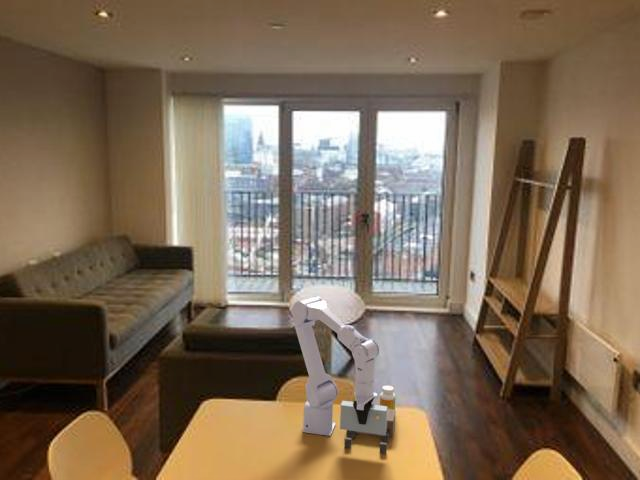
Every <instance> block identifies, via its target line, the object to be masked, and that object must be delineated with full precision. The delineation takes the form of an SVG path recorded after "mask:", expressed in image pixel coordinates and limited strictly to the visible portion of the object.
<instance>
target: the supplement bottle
mask: <svg viewBox="0 0 640 480" xmlns="http://www.w3.org/2000/svg"><path fill="white" fill-rule="evenodd" d="M381 391H382V392H380V394H379V406H387V409H395V410H396V394H395V392H394V391H395V390H394V387H393V386H392V385H383V386H382V389H381Z"/></svg>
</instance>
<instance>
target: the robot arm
mask: <svg viewBox="0 0 640 480" xmlns="http://www.w3.org/2000/svg"><path fill="white" fill-rule="evenodd" d="M290 312H291V316H292V319H293V322H294V328H295V332H296V336H297V339H298V343H299V346H300V349H301V353H302V357H303V360H304V364H305V367H306V370H307V373H308V379H307V382H306V384H304V387H305V393H306V394H305V399H306V400H307V401H305V404H304V406H303V418H302V419H303V421H302V423H303V426H302V428H303V429H302V432H303V433H308V434H315V435H321V436H328V437H331V436H332V433H333V432H334V429H335V426H336V422H333V418H334V415H333V414H334V413H333V412H334V409H333V408H334V403H335V399H337V398H338V395H339V388H338V386H337V385H336V382H335V381H334V379H333V376H332V375H330V374H328V373H326V370H325V367H324V364H323V363H324V362H323V361H322V360H323V359H322V357H321V354H320V350H319V349H320V348H319V346H318V343H317V340H316V337H315V333H314V330H313V326H314V324H315V322H316V321H320V322H322V323H323V324H324V325H325V326H327V327H328V328H330V329H331V330H332V331H334V332H335V333H336V334H337V340H338V341H340V343H342V344H343V345H344V346H345V347H346V348H347V349H348V350H350V352H351V355H352V358H353V360H354V365H355V374H354V375H355V377H354V379H355V380H354V381H355V383H354V393H353V396H354V398H355V400H353V401H352V402H353V407H354V408H355V410H356V413H357V418H358V422H359V424H363V425H365V424H366V421H367V417H368V412H369V410H370V409H371V407H372V405H373V404H372V403H373V401H374V400H375V399H377V398H378V393H376V392H375V387H374V385H375V369H376V368H375V366H376V365H375V363H376V358H377V357H378V356H379V355H380V347H379V345H378V343H377V342H376V341H375V340H374V339H373V338H367V337H365V336H364V335H363V334H361V333H360V332H359V331H358V330H356V328H355V327H354V326H353V325H350V324H346V325H345V323H344V322H342V321H341V320H340V319H339V318H338V317H337V316H336V315H335V313H333V312H332V311H331V309H329V307H328V304H327V302H326V301H325V300H324V299H322V297H320V296H319V295H316V296H315V295H314V296H312V297H310V298H306V299H303V300H296V301H295V302H294V303H293V305H292V307H291V309H290Z"/></svg>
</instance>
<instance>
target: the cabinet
mask: <svg viewBox="0 0 640 480" xmlns="http://www.w3.org/2000/svg"><path fill="white" fill-rule="evenodd" d="M396 411H397V410H396V408H395V409H387V429H386V434H385V435H378V434H371V433H364V432H357V431H350V430H346V433H347V437H346V436H345V437H344V449H352V441H353V440H354V439H355V437H356V435H358V434H359V435H365V436H373V437H380V438H381V441H380V443H379V453H380V454H385V455H386V454H387V449H388V448H387V447H388V445H389V441H390V439H394V431H395V427H396Z"/></svg>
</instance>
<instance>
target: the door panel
mask: <svg viewBox="0 0 640 480" xmlns="http://www.w3.org/2000/svg"><path fill="white" fill-rule="evenodd" d="M353 402H354V401H347V400H342V401H341V403H340V415H339V417H340V419H339V429H340V430H344V431H347V430H350V431H357V432H364V433H371V434H378V435H385V434H386V429H387V406H380V404H379V405H378V404H372V407H371V409H370V410H369V412H368V417H367V421H366V424H365V425H363V424H359V422H358V418H357V413H356V410H355V408H354V407H353Z"/></svg>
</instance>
